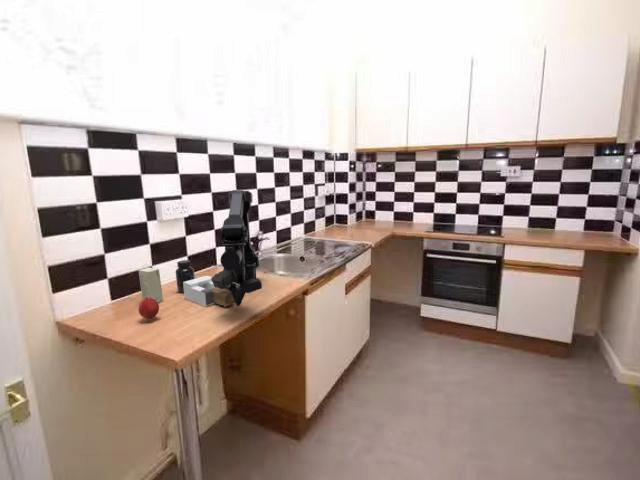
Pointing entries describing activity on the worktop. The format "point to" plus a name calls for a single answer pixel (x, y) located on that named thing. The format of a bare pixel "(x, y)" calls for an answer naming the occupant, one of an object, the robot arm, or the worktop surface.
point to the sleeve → (200, 290)
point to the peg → (222, 297)
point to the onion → (148, 308)
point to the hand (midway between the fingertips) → (238, 305)
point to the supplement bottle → (183, 274)
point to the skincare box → (151, 284)
